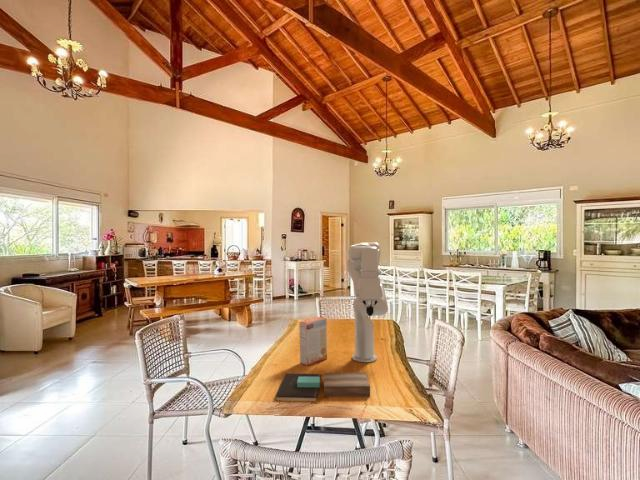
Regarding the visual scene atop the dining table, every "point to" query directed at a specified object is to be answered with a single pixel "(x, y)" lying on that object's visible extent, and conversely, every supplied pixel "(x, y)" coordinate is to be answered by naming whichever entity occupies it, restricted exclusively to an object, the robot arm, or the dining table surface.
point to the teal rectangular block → (308, 382)
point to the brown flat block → (346, 384)
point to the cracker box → (313, 340)
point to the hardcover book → (296, 389)
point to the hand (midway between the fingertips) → (369, 315)
